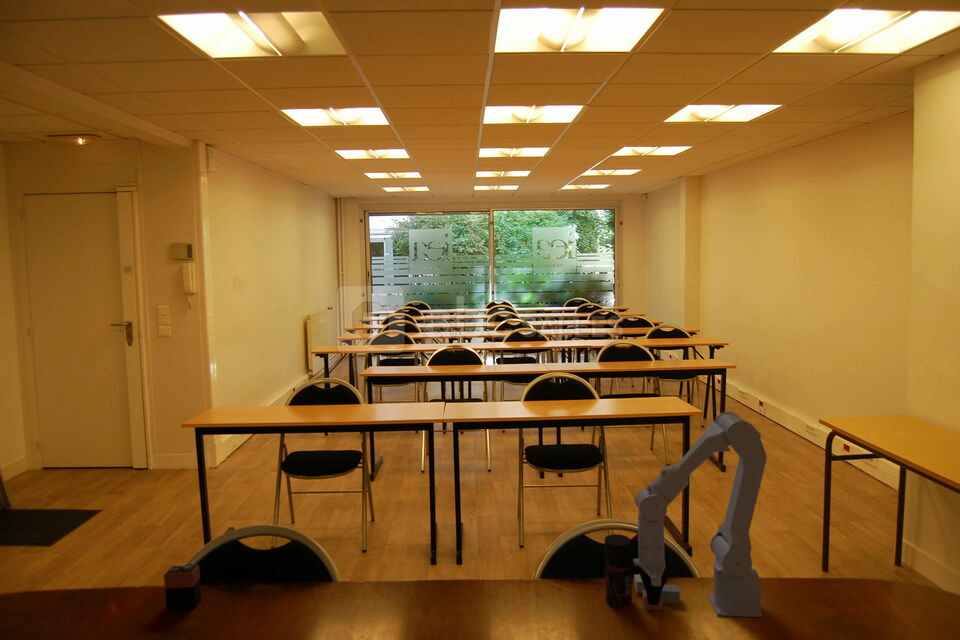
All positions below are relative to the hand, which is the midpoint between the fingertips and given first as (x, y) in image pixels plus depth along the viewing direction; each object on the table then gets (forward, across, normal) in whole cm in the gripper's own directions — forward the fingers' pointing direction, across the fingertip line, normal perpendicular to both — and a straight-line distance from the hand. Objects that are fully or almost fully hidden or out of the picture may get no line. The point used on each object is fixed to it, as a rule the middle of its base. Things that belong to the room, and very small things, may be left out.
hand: (652, 599), depth 131 cm
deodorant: (+2, -1, -7) cm, 8 cm away
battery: (+2, +9, -112) cm, 113 cm away
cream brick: (+2, -7, 0) cm, 7 cm away
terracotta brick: (+2, 0, 0) cm, 2 cm away
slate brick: (+2, -3, +4) cm, 5 cm away
